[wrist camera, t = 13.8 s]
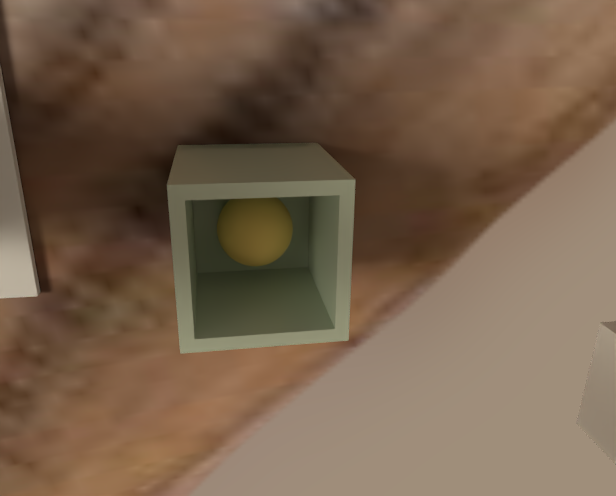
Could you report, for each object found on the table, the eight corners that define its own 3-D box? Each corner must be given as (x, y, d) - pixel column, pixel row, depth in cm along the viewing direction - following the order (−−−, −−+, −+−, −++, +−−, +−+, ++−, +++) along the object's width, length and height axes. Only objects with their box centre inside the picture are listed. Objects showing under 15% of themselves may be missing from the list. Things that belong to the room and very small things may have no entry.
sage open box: (177, 145, 27) (166, 184, 20) (317, 142, 28) (355, 179, 21) (187, 275, 30) (180, 353, 22) (314, 268, 31) (348, 340, 23)
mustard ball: (214, 183, 27) (215, 204, 24) (287, 181, 28) (298, 201, 24) (217, 252, 28) (219, 280, 25) (287, 248, 29) (297, 276, 26)
